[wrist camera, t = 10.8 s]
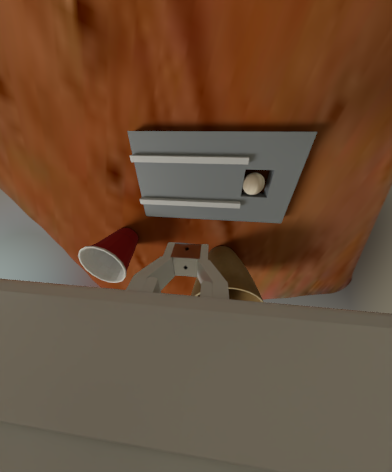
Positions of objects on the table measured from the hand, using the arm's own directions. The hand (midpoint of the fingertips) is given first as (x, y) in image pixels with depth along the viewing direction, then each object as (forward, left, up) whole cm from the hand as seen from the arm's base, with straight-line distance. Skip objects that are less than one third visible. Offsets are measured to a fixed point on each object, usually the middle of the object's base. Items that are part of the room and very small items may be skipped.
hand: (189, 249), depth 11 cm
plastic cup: (+17, -21, -23) cm, 36 cm away
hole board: (+1, +2, -23) cm, 23 cm away
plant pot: (+22, +6, -23) cm, 32 cm away
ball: (+1, +9, -21) cm, 23 cm away
